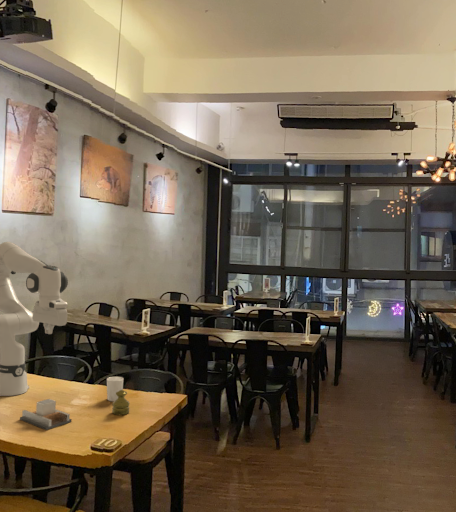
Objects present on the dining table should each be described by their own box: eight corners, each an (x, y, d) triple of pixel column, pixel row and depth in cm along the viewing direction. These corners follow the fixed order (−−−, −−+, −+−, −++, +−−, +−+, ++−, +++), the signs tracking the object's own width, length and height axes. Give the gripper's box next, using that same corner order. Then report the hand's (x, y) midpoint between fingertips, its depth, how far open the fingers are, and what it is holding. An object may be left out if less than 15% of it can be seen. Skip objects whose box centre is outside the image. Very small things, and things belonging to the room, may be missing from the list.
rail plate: (19, 419, 202) (20, 411, 202) (45, 412, 212) (45, 404, 212) (46, 430, 192) (46, 421, 192) (71, 421, 202) (71, 413, 202)
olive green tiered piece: (118, 408, 220) (119, 387, 220) (132, 411, 217) (133, 389, 217) (108, 413, 213) (109, 391, 213) (123, 416, 210) (123, 393, 210)
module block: (36, 418, 201) (36, 401, 201) (48, 415, 206) (49, 398, 206) (42, 421, 198) (43, 404, 198) (55, 417, 203) (55, 400, 203)
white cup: (103, 398, 234) (103, 378, 234) (117, 395, 239) (118, 375, 239) (110, 403, 228) (111, 381, 228) (125, 400, 233) (126, 379, 233)
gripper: (29, 300, 217) (28, 331, 217) (57, 305, 206) (56, 337, 206) (41, 299, 222) (40, 329, 223) (70, 304, 211) (69, 335, 211)
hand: (48, 333), depth 214 cm, fingers closed
